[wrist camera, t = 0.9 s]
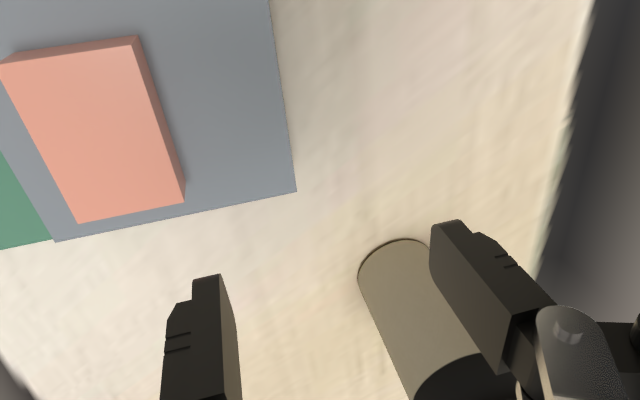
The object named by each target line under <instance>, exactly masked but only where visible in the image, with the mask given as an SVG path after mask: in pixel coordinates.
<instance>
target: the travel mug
mask: <svg viewBox="0 0 640 400" xmlns="http://www.w3.org/2000/svg"><path fill="white" fill-rule="evenodd" d="M429 251H430V249H429V248H428V247H427V246H426V245H424V244H422V243H420V242H417V241H412V240H402V241H397V242H393V243H390V244H387V245H385V246H383V247H381V248H380V249H378V250H377V251H375V252H374V253H373V254H372V255H370V256H369V258H368V259H367V260H366V261H365V262H364V264H363V265H362V267H361V269H360V272H359V275H358V285H359V288H360V290H361V293H362V295H363V297H364V299H365V302H366V304H367V306H368V308H369V311H370V313H371V315H372V317H373V320H374V322H375V324H376V326H377V329H378V331H379V333H380V335H381V337H382V340H383V342H384V344H385V346H386V349H387V351H388V353H389V355H390V358H391V360H392V362H393V364H394V367H395V369H396V371H397V373H398V376H399V378H400V380H401V382H402V385H403V387H404V389H405V391H406V394H407V396H408V398H409V400H517V396H516V388H515V387H516V382H517V379H516V378H515V376H514V375H513V373H512V372H511V371H510V372H507V373H503V374H500V375H496V374H495V373H494V371H493V370H492V368H491V367H490V365H489V364H488V362H487V361H486V359H485V358H484V356H483V355H482V353H481V352H480V350H479V349H478V347H477V346H476V344H475V343H474V341H473V340H472V338H471V337H470V335H469V334H468V332H467V331H466V329H465V328H464V326H463V325H462V323H461V322H460V320H459V319H458V317H457V316H456V314H455V313H454V311H453V310H452V308H451V307H450V305H449V304H448V302H447V301H446V300H445V298H444V297H443V295H442V294H441V292H440V291H439V289H438V288H437V286H436V285H435V283H434V281H433V279H432V277H431V274H430V270H429Z"/></svg>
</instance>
